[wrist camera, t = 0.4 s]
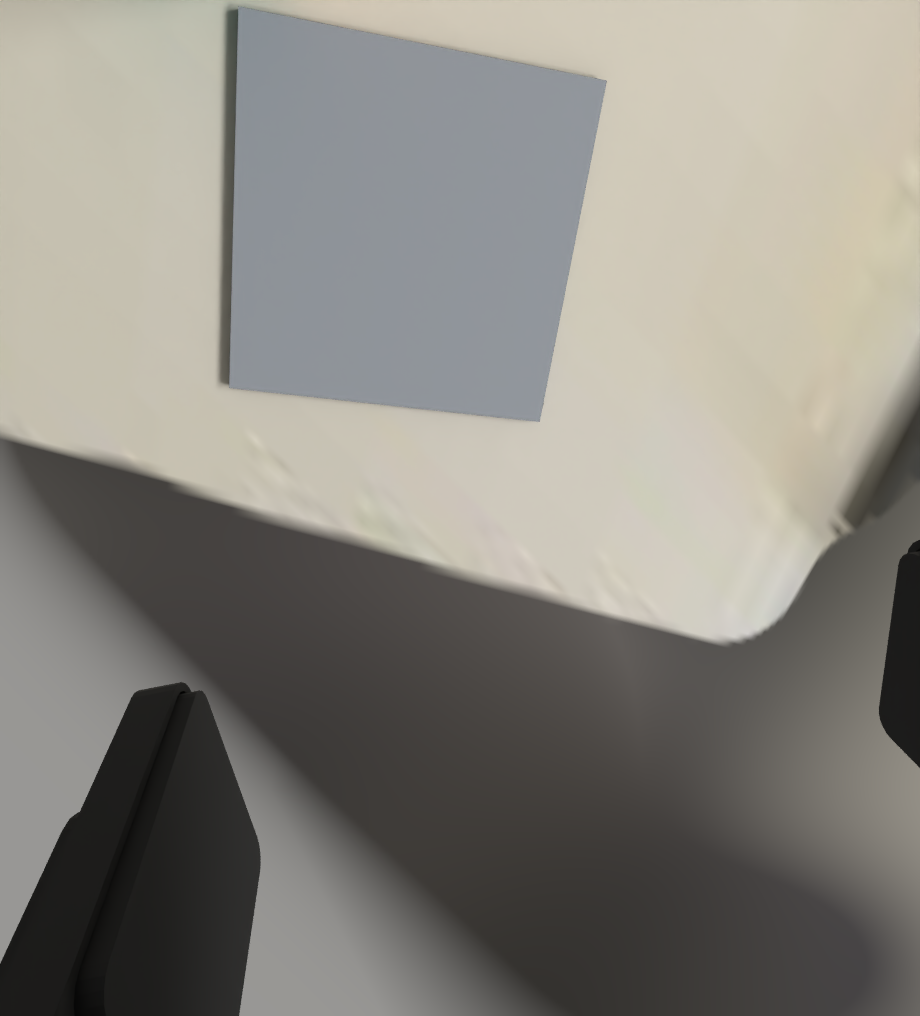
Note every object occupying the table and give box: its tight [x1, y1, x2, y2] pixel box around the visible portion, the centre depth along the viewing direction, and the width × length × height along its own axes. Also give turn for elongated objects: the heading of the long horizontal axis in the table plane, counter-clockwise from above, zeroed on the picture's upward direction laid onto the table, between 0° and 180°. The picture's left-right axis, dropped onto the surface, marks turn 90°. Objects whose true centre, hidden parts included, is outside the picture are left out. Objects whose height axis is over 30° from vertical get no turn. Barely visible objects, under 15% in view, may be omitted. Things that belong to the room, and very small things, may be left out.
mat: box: [229, 6, 607, 422], centre depth 34 cm, size 16×16×1 cm
